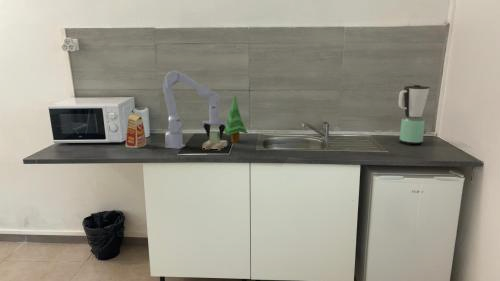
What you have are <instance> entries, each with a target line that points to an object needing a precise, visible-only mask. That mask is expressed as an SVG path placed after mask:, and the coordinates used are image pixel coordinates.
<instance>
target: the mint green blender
mask: <svg viewBox="0 0 500 281" xmlns="http://www.w3.org/2000/svg"><path fill="white" fill-rule="evenodd" d="M430 89H431V88H430V86H422V85H419V84H415V85H408V86H406V85H405V86H404V88H403V90H402V89H401V91H400V92H399V95H398V101H397V102H398V107H399V108H400V109H401V110H404V112H405V115H403V116H402V118H401V123H400V129H399V143H403V144H407V146H411V145H419V144H422V145H423V142H424V134H426V133H427V129H426V127H425V124H426V120H425V117H424V116H423V113H424V109H425V107H426V106H425V105H426V104H427V99H428V95H429V91H430ZM403 99H404V105H403Z"/></svg>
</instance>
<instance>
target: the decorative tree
mask: <svg viewBox="0 0 500 281" xmlns="http://www.w3.org/2000/svg"><path fill="white" fill-rule="evenodd" d="M226 122H227V126H226V127H225V129H224V132H223V133H225V134H226V135H227V136H230V135H231V136H230V137H231V139H230V140H231V143H237V144H238V143H240V133H244V134H248V132H247V128H246V127H245V124H244V123H243V119H242V117H241V114H240V109H239V105H238V101H237V96H236V94H234V96H233V99H232V103H231V107H230V111H229V116H228V117H227V120H226Z"/></svg>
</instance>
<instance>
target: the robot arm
mask: <svg viewBox="0 0 500 281" xmlns="http://www.w3.org/2000/svg"><path fill="white" fill-rule="evenodd" d="M176 83H184V84H186V85H188V86H190V87H191V88H192V89H194V90H196V93H197V94H198V95H199V96H201V97H202V98H204V99H205V100H207V101H208V103H209V104H208V109H209V110H208V112H209V115H208V116H209V119H208V120H202V123H201V124H202V125H203V129H204V130H205V133H206V135H207V138H210V132H211V126H218V129H219V130H218V132H220V139H222V138H223V134H224V133H225V132H224V129H225V127H226V126H227V121H220V102H219V101H220V95H219V94H218V93H217V92H215V91H214V90H211V89H210V88H209V87H208V85H205V84H201V85H200V84H198V83H197V82H196V81H195V80H193V79H192V78H191V77H189V76H188V75H186V74H185V73H183V72H181V71H179V70H177V69H174V70H170V71H169V72H167V74H165V76H164V80H163V83H162V91H163V95H164V96H163V97H164V100H165V106H166V110H167V113H168V131H166V132H165V136H164V142H165V146H164V148H165V149H166V148H167V149H168V148H169V149H178V150H180V149H182V148H184V147H186V144H184V143H183V130H182V128H183V122H182V120H181V119H180V116H179V114H178V110H177V104H176V101H175V95H174V91H173V90H174V89H173V88H174V86H175V85H176Z"/></svg>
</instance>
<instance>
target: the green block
mask: <svg viewBox="0 0 500 281" xmlns="http://www.w3.org/2000/svg"><path fill="white" fill-rule="evenodd" d="M209 140H210V143H216V144H217V143H219V142H220V140H221V138H220V131H216V130H215V131H213V130H212V131H210V137H209Z"/></svg>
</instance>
